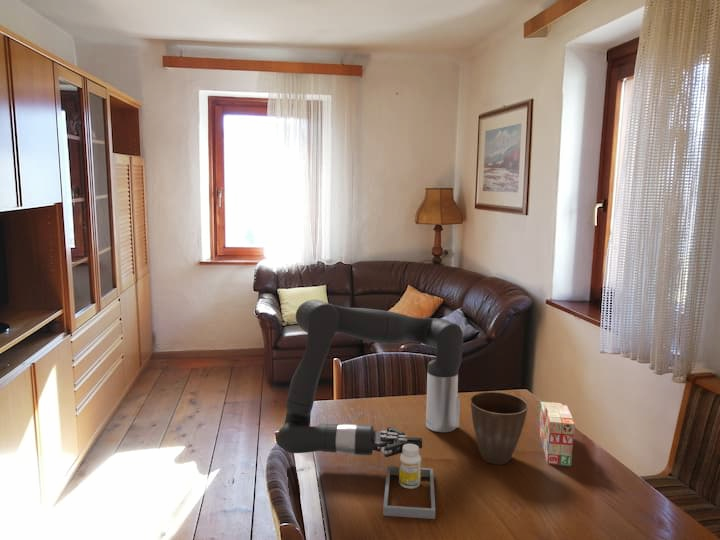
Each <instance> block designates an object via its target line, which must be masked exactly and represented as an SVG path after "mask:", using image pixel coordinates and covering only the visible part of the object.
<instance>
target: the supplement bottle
mask: <svg viewBox="0 0 720 540" xmlns="http://www.w3.org/2000/svg"><path fill="white" fill-rule="evenodd" d="M402 451H403V453H400V454H399V463H398V464H399V465H398V466H399V475H398V483H399V484H400V486H401V487H402V488H406V489H410V490H411V489H412V490H414V489H417V488H419V486H420V485H421V478H422V477H421V468H422V457H421V455H420V454H419V453H420V448H419V447H418V446H417V445H415V444H405V445H403V450H402Z"/></svg>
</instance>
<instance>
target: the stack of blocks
mask: <svg viewBox="0 0 720 540" xmlns="http://www.w3.org/2000/svg"><path fill="white" fill-rule="evenodd" d="M575 425H576V423H575V422H574V418H573V416H572V414H571V411H570V409H569V407H568V405H567V404H565V405H564V404H562V403H561V402H553V401H551V402H550V401H540V402H539V427H538V428H539V429H538V431H539V434H540V435H539V436H540V439H541V444H542V446H543V450H544V456H545V460H546V461H545V462H546V464H547V465H554V466H555V465H557V466H567V467H572V463H573V462H572V459H573V445H574V435H575V428H576V427H575Z"/></svg>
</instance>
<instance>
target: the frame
mask: <svg viewBox="0 0 720 540" xmlns="http://www.w3.org/2000/svg"><path fill="white" fill-rule="evenodd" d="M391 476H399V465H398V466H397V465H396V466H395V465H387V467H386V477H385V486H384V495H383V507H382V516H386V517H398V518H399V517H401V518H403V517H404V518H414V519H417V518H418V519H426V520H427V519H428V520H431V519H432V520H435V519H436V499H435V495H436V494H435V482H434V481H435V479H434V468H430V467H421V478H429V489H430V490H429V491H430V492H429V493H430V494H429V495H430V507H417V506H415V507H414V506H403V505H402V506H399V505H388V503H389V493H390V485H391V484H390V483H391V482H390V479H391Z"/></svg>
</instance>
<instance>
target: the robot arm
mask: <svg viewBox="0 0 720 540" xmlns="http://www.w3.org/2000/svg"><path fill="white" fill-rule="evenodd" d="M295 319H296V322H297V324H298V327H299V328H300V329H301V330H302V331H304V332H306V333H307V337H306V345H305V346H306V347H305V350H304V353H303V356H302V358H301V361H300V362H299V364H298V366H297V368H296V369H295V371H294V374H293V376H292V378H291V381H290V384H289V389H288V394H287V397H286V402H285V407H286V415H285V418H284V419H285V420H284V423H283V426H281V428H280V429H279V430H278V432H277V435H276V444H277V446H278V447H279V446H280V447H281V448H283V449H284V450H285V451H287V452H286V453H288V454H289V453H290V454H308V453H312V452H313V453H315V452H323V453H325V452H326V453H338V454H344V455H354V456H355V455H357V456H358V455H359V456H372V455H373V454H374V451H375V452H379V453H381V452H382V453H383V457H385V458H390V457H393V456H396V455H400V454H402V453H403V451H402V450H403V445H405V444H415V445H417V446H418V447H419V449H422V448H423V438H422V437H413V436H412V437H411V436H409V437H408V435H406V432H404V431H403V430H400V429H397V428H394V427H391V426H387V427H386V430H381V429H380V430H375V427H374V426H373V425H372V424H353V423H342V424H341V423H340V424H337V423H336V424H335V423H320V424H317V425H314V426H311V418H312V410H313V407H314V402H315V399H316V393H317V390H318V384H319V381H320V376H321V373H322V370H323V366H324V365H325V361H326V359H327V355H328V353H329V350H330V348H331V345H332V344H333V343H332V342H333V340H334V337H335V336H336V334H341V335H342V334H343V335H346V336H350V337H353V338H356V339H360V340H363V341H367V342H370V343H371V342H372V343H378V344H386V345H396V344H402V343H405V342H411V343H418V344H421V345H425V346H428V347H430V348H431V349H432V348H433V349H434V350H436V353H435V359H433V360H430V361H428V364H427V371H426V372H427V374H426V376H427V377H426V407H425V408H426V410H425V411H426V412H425V426H426V428H427V429H429V430H431V431H432V432H438V433H449V432H453V431H454V430H455V431H456V429H457V428H458V429H459V427H460V411H461V410H460V406H461V405H460V404H461V398H460V396H458V391H459V389H458V388H459V387H458V385H459V383H458V382H459V369H460V366H461V364H462V359H463V358H462V357H463V348H464V346H463V345H464V334H463V330H462V328H461V327H460V325H459V324H457V323H454V322H452V321H449V320H446V319H443V318H436V317H433V318H430V317H413V316H410V315H407V314H403V313H399V312H393V311H388V310H383V309H374V308H363V307H362V308H361V307H346V306H339V305H336V304H331V303H329V302H326V301H323V300H320V299H309V300H306V301H305V302H303V303H302V304H300V305H299V306H298V308H297V309H296V313H295ZM280 447H279V448H280ZM281 448H280V449H281ZM285 451H284V452H285Z"/></svg>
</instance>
